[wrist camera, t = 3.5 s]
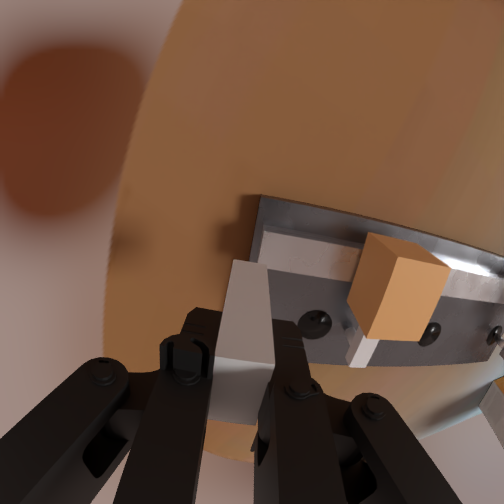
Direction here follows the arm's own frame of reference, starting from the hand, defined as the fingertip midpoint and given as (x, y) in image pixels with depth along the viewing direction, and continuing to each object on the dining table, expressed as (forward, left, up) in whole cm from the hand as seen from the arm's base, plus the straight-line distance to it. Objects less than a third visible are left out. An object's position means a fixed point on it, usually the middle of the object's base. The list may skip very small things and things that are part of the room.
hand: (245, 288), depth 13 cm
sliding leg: (+2, +9, -6) cm, 11 cm away
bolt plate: (+3, +16, -8) cm, 18 cm away
